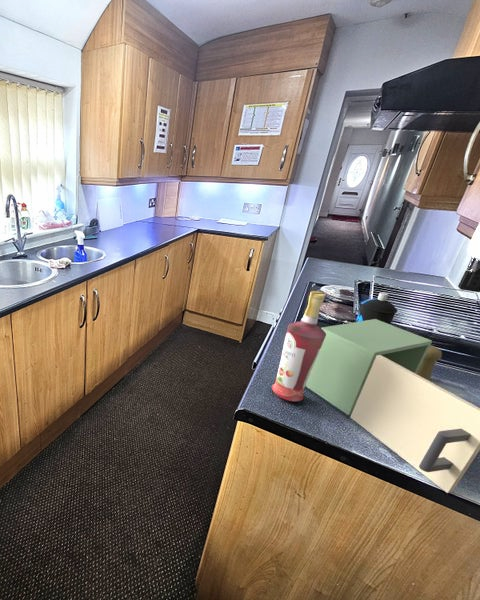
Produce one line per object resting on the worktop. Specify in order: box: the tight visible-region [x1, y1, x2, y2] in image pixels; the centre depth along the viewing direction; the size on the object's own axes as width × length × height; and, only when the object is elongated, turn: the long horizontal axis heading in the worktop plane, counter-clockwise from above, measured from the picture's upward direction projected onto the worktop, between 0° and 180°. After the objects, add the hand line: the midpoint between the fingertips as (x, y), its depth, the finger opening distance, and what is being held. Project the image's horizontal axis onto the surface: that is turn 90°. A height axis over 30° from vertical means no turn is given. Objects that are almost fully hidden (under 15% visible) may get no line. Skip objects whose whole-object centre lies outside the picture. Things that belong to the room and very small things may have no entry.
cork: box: [417, 344, 443, 382], centre depth 86 cm, size 6×6×11 cm
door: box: [349, 355, 480, 494], centre depth 63 cm, size 6×19×17 cm, turn 9°
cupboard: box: [305, 319, 433, 416], centre depth 81 cm, size 12×19×17 cm, turn 107°
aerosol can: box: [354, 291, 398, 325], centre depth 98 cm, size 8×8×20 cm
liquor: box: [271, 290, 326, 403], centre depth 76 cm, size 7×7×28 cm
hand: (468, 289), depth 71 cm, fingers closed
